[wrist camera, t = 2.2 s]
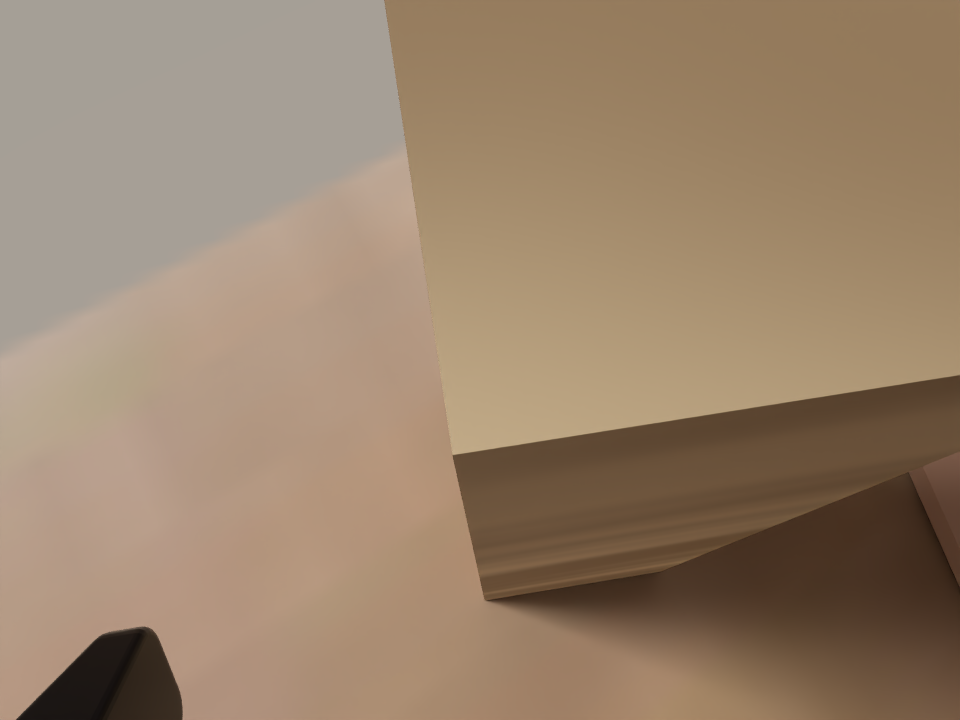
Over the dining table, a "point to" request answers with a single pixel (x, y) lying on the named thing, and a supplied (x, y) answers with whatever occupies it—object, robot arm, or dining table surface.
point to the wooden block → (681, 264)
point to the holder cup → (942, 503)
